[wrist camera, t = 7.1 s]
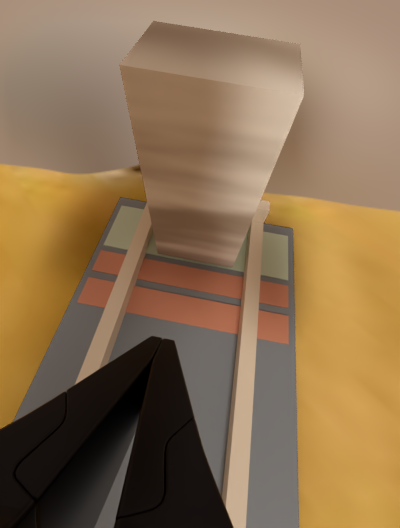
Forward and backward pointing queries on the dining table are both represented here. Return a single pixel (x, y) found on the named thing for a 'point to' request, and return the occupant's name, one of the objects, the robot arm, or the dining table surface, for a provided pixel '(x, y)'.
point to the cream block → (208, 131)
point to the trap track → (197, 352)
